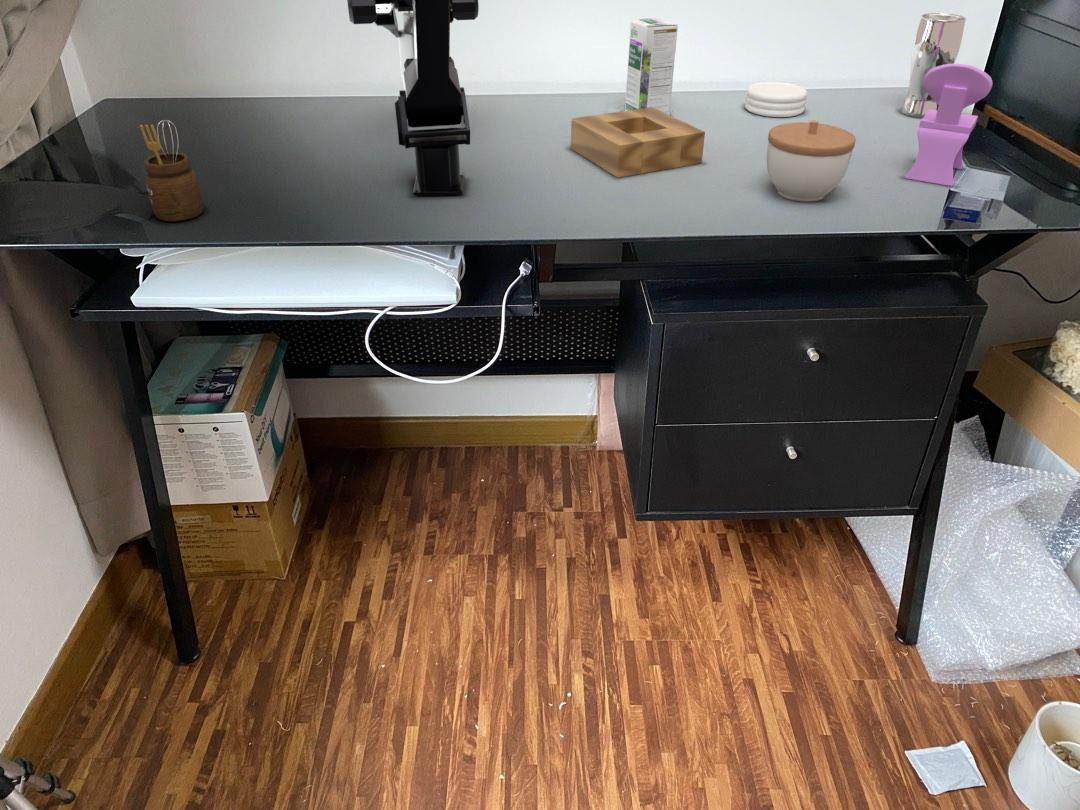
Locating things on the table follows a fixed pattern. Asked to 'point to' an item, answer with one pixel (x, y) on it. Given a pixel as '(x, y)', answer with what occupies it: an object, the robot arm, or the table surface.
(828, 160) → the trinket box
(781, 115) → the white layered disc
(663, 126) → the block
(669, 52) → the syrup box
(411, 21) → the power adapter
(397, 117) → the robot arm
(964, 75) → the chair
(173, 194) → the utensil holder
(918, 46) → the silver tumbler
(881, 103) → the table surface
